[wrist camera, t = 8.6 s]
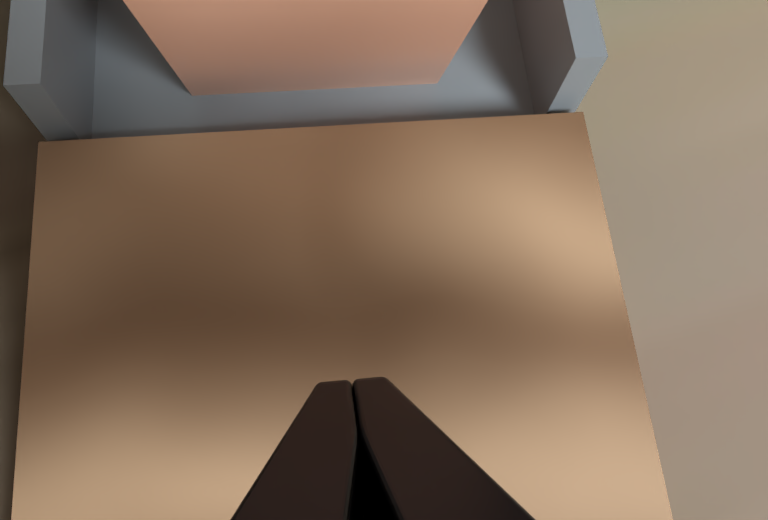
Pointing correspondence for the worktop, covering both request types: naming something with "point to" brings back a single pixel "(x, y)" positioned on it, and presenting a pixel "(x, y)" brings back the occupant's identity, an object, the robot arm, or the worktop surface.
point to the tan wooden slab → (326, 312)
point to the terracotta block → (305, 41)
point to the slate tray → (285, 108)
